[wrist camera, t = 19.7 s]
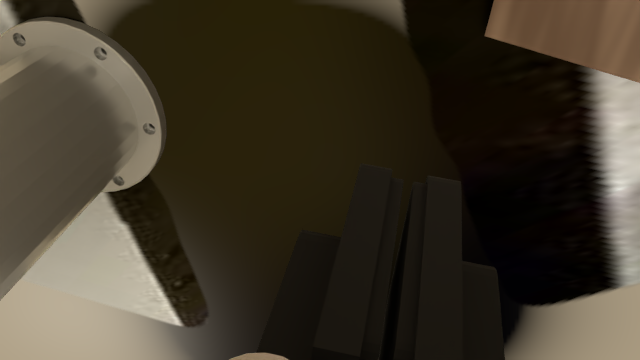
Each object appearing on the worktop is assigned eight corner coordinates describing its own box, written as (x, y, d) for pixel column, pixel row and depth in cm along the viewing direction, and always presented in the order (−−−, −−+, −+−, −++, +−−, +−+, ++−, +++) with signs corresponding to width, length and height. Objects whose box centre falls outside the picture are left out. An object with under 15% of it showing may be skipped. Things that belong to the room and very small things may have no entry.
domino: (484, 35, 30) (697, 100, 26) (511, -68, 27) (756, -14, 23) (495, 27, 31) (700, 88, 27) (522, -72, 28) (757, -21, 24)
